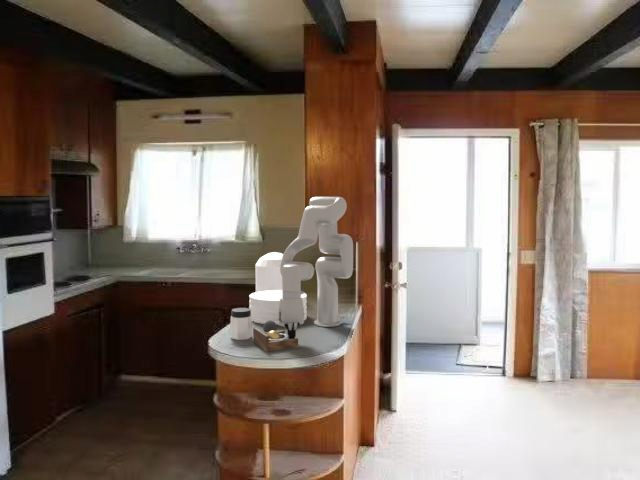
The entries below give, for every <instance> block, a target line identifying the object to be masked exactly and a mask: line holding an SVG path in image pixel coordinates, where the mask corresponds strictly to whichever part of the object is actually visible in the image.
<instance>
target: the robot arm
mask: <svg viewBox="0 0 640 480" xmlns="http://www.w3.org/2000/svg"><path fill="white" fill-rule="evenodd" d="M347 206H348V204H347V201H346V199H345V198H344V197H342V196H314V197H313V196H312V197H311V198H310V199H309V202H308V206H306V207H305V208H304V210H303V213H302V218H301V221H300V225H299V229H298V235H297V237H296V238H294V240H293V241H292V242H291V243H289V244H288V246H287V248H285V251H284V252H283V253H282V254H283V257H282V261H281V266H280V273H281V276H282V298H280V302H279V309H278V320H279V321H280V322H279V325H278V326H280V327H284V328H286V330H287V333H286V334H287V335H289V339H295V338H297V337H296V335H297V333H296V330H297V329H298V328H299V326H300V325H303V324H304V323H305V320H304V306H303V300H302V297H301V295H302V294H304V293H305V292H304V290H301V288H302V287H301V283H302V282H301V281H308V280H311V279H312V278H313V276H314V275H315V272H316V282H317V297H316V299H317V305H316V306H317V310H316V311H317V314H316V315H317V316H316V317H317V319H315V320H314V321H313V323H314V325H315V326H317V327H323V328H326V327H327V328H330V327H331V328H332V327H334V328H335V327H338V326H340V325H342V321H341V320H345V319H348V315H347V314H339V310H338V309H339V305H338V304H339V297H338V296H339V287H338V283H337V282H336V279H344V280H345V279H346V280H347V279H350V278H351V277H352V276H353V272H354V242H353V238H352V237H351V236H350V235H349V234H346V233H338V221H339V220H340V219H341V218H342V217H343V216H345V213H346V211H347V208H348V207H347ZM317 242H318V249H319V252H321V253H322V254H326V255H339V256H340V257H337V256H321V257H319V258H318V259H317V260H316V262H315V264H314V265H315V268H314V265H313V264H312V263H310V262H306V261H305V262H303V261H295V260H294V257H295V256H296V254H298V253H299V252H300V251H302V250H304V249H307V248H309V247H312V246H314V245H316V244H317ZM293 260H294V261H293ZM291 323H292V324H291Z"/></svg>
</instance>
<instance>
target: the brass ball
mask: <svg viewBox="0 0 640 480" xmlns="http://www.w3.org/2000/svg"><path fill="white" fill-rule="evenodd" d="M277 331H278V330H276V331H275V330H272V331H269V332H268V333H267V335H268V336H269V339H281V337H280V334H279V333H278V332H277Z"/></svg>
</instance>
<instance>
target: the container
mask: <svg viewBox="0 0 640 480" xmlns="http://www.w3.org/2000/svg"><path fill="white" fill-rule="evenodd" d="M283 254H284V253H282V252H276V251H273V252H268V253H266V254H264V255H263V256H261V257H259V259H257V262H256V263H255V266H254V267H255V271H254V272H255V292H259V291H267V290H282V276H281V273H280V266H281V261H282V257H283Z"/></svg>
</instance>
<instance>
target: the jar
mask: <svg viewBox="0 0 640 480" xmlns="http://www.w3.org/2000/svg"><path fill="white" fill-rule="evenodd" d="M230 311H231V316H230V339H232V340H236V341H242V340H243V341H244V340H245V341H246V340H250V339H251V338H252V337H253V332H252V331H253V328H252V327H253V321H252V315H251V309H249V307H248V308H247V307H237V308H236V307H235V308H232V309H231V310H230Z"/></svg>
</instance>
